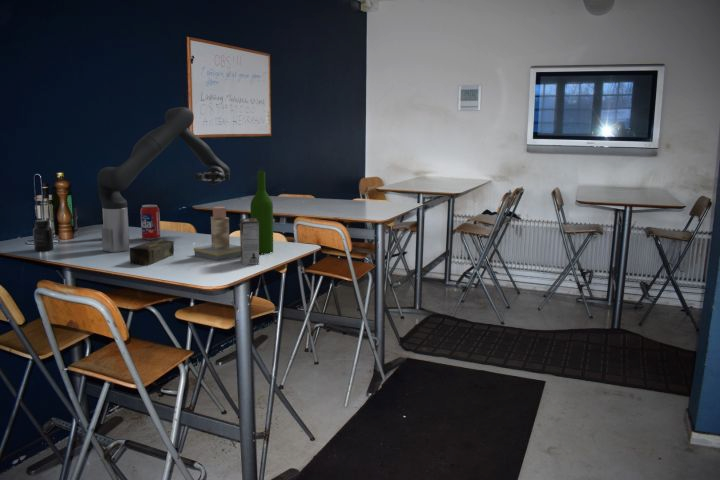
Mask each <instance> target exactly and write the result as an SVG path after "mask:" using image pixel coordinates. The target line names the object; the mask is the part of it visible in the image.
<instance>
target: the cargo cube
mask: <svg viewBox="0 0 720 480" xmlns="http://www.w3.org/2000/svg"><path fill="white" fill-rule="evenodd" d="M212 217H214V218H216V219H218V218H226V217H227V208H226V207H225V206H212Z"/></svg>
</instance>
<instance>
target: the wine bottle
mask: <svg viewBox="0 0 720 480" xmlns="http://www.w3.org/2000/svg"><path fill="white" fill-rule="evenodd" d="M250 218H257V220H258V222H259V253H269V254H271V253H270V252H272V253H274V205H273V200H272V199H271V197H270V196H269V194H268V193H267V191H266V172H265V171H257V191H256V193H255V194H254V196H253V198H252V199H251V201H250Z"/></svg>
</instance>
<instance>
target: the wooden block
mask: <svg viewBox="0 0 720 480" xmlns="http://www.w3.org/2000/svg"><path fill="white" fill-rule="evenodd" d="M209 218H210V225H211V226H210V231H211V232H210V235H211V236H210V237H211V245H212V248H214V249H215V250H218V249H230V245H229V244H230V217H227V216H226V218H218V219H216V218H214V217H213V216H210V217H209Z"/></svg>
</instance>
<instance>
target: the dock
mask: <svg viewBox="0 0 720 480" xmlns="http://www.w3.org/2000/svg"><path fill="white" fill-rule="evenodd" d="M229 245H230V249H218V250H215V249H214V248H212V244H208V245H203V246H196V247H194V248H193V251H194V256H197V257H202V258H206V259H210V260H213V261H221V260H226V259H231V258H236V257H241V245H237V244H231V243H229Z"/></svg>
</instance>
